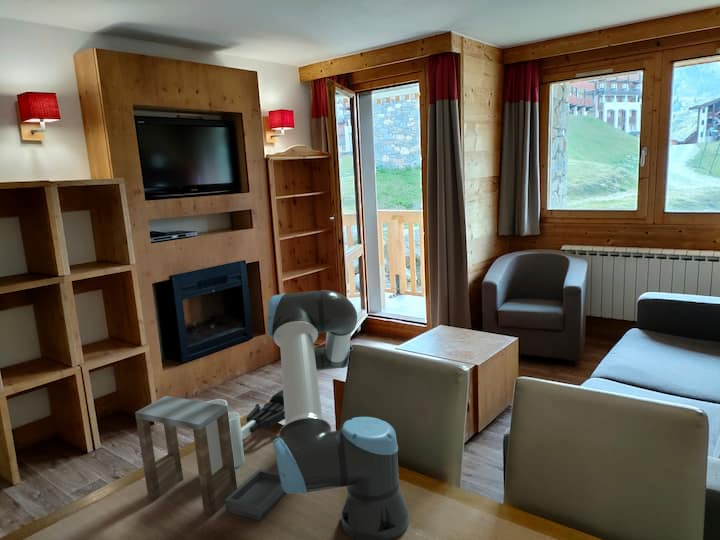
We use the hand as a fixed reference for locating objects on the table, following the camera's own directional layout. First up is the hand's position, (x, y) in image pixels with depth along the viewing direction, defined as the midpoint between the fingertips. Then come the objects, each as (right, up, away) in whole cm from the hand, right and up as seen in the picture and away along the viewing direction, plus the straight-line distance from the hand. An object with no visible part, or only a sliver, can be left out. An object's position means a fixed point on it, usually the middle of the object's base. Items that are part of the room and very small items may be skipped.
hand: (240, 435), depth 150 cm
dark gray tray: (+10, -9, -21) cm, 25 cm away
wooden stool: (-8, -10, -18) cm, 22 cm away
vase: (-2, -8, -6) cm, 10 cm away
